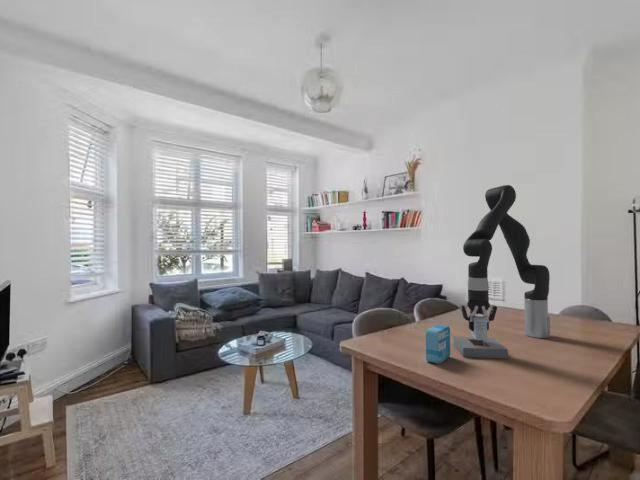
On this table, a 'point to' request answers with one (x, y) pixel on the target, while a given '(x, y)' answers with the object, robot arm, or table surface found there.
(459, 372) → the table surface
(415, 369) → the table surface
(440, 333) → the blue printed box
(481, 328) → the medicine box
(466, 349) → the grey slotted block
